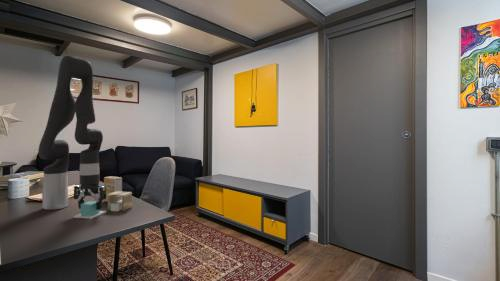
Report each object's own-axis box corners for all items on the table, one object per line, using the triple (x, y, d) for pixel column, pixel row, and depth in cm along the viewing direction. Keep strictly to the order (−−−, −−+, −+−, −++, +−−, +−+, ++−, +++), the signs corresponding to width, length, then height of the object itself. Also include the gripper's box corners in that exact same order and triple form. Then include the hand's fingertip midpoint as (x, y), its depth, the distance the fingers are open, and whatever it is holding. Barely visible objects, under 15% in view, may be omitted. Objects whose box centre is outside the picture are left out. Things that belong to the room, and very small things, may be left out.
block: (80, 215, 107) (80, 204, 107) (89, 211, 112) (89, 201, 112) (91, 215, 107) (91, 204, 107) (99, 212, 112) (99, 201, 112)
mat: (72, 217, 106) (72, 216, 106) (89, 211, 115) (89, 210, 115) (91, 218, 105) (91, 217, 105) (106, 212, 113) (106, 211, 113)
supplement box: (103, 201, 131) (103, 177, 131) (111, 199, 135) (111, 175, 135) (114, 203, 128) (114, 178, 127) (122, 200, 132) (122, 177, 132)
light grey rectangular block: (110, 211, 115) (110, 204, 115) (123, 205, 124) (123, 199, 124) (117, 211, 115) (117, 204, 115) (129, 206, 124) (129, 199, 124)
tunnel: (107, 209, 117) (107, 194, 116) (116, 206, 123) (116, 191, 122) (124, 210, 116) (123, 195, 115) (131, 206, 121) (131, 192, 121)
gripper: (68, 174, 106) (68, 210, 107) (97, 175, 104) (98, 212, 105) (82, 171, 114) (82, 205, 114) (110, 172, 112) (110, 207, 112)
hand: (90, 209), depth 110 cm, fingers open, 8 cm apart
